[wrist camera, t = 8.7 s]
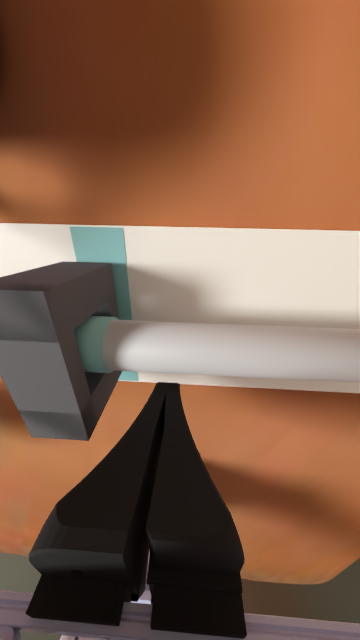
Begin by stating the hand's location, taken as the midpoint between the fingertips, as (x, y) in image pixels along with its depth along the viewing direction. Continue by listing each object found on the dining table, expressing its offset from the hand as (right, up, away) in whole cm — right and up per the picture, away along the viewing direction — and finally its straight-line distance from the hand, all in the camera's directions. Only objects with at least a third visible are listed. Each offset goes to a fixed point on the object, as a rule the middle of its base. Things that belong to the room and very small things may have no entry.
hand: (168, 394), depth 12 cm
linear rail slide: (+4, +5, +2) cm, 6 cm away
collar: (-5, +5, +2) cm, 7 cm away
